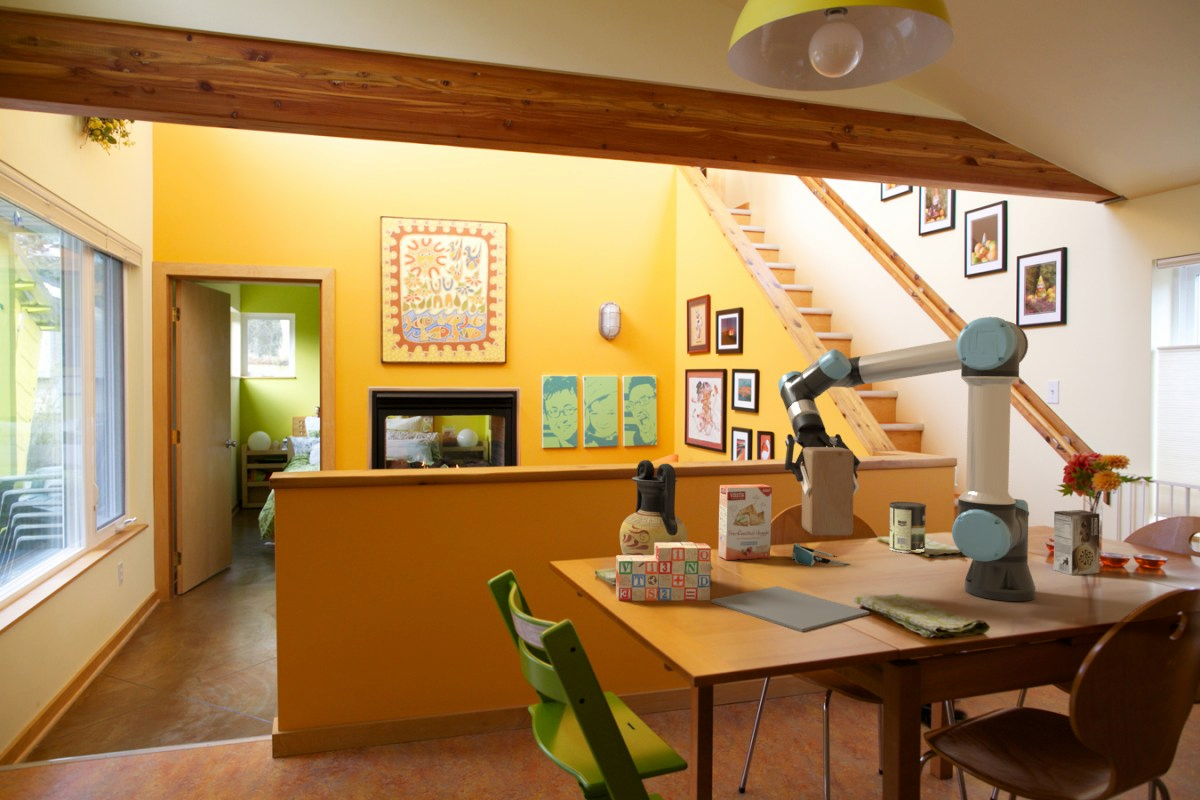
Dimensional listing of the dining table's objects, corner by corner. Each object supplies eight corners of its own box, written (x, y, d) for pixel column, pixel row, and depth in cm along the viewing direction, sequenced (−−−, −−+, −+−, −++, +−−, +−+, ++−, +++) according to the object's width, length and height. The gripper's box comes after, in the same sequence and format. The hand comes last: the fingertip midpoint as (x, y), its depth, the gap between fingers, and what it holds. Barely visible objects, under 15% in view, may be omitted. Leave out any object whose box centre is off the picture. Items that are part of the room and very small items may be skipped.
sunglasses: (784, 556, 228) (786, 539, 228) (833, 563, 229) (836, 546, 229) (799, 567, 214) (802, 549, 214) (852, 574, 215) (855, 556, 215)
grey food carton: (1079, 568, 215) (1080, 509, 215) (1100, 573, 209) (1101, 513, 209) (1052, 569, 213) (1053, 510, 213) (1071, 575, 207) (1072, 514, 206)
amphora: (701, 582, 196) (702, 462, 195) (651, 593, 185) (652, 466, 185) (654, 569, 210) (655, 457, 209) (604, 578, 199) (605, 460, 199)
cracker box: (726, 561, 220) (727, 487, 220) (717, 556, 226) (718, 484, 226) (771, 558, 224) (772, 485, 224) (761, 554, 230) (762, 483, 229)
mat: (869, 614, 169) (869, 611, 169) (801, 631, 156) (801, 628, 156) (776, 588, 190) (776, 586, 190) (710, 602, 178) (710, 599, 178)
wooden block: (854, 536, 182) (854, 450, 182) (810, 535, 182) (811, 449, 182) (841, 528, 192) (842, 446, 192) (800, 528, 192) (801, 446, 192)
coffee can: (922, 547, 241) (922, 502, 241) (928, 554, 231) (928, 507, 231) (886, 546, 244) (887, 500, 243) (891, 552, 234) (891, 505, 233)
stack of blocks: (617, 601, 178) (618, 547, 178) (615, 594, 184) (615, 542, 184) (710, 600, 180) (711, 547, 179) (705, 593, 186) (705, 541, 186)
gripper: (845, 431, 203) (873, 499, 188) (758, 432, 200) (779, 501, 185) (855, 411, 198) (884, 480, 183) (765, 411, 195) (788, 481, 180)
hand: (832, 490), depth 184 cm, fingers closed on wooden block, 11 cm apart
